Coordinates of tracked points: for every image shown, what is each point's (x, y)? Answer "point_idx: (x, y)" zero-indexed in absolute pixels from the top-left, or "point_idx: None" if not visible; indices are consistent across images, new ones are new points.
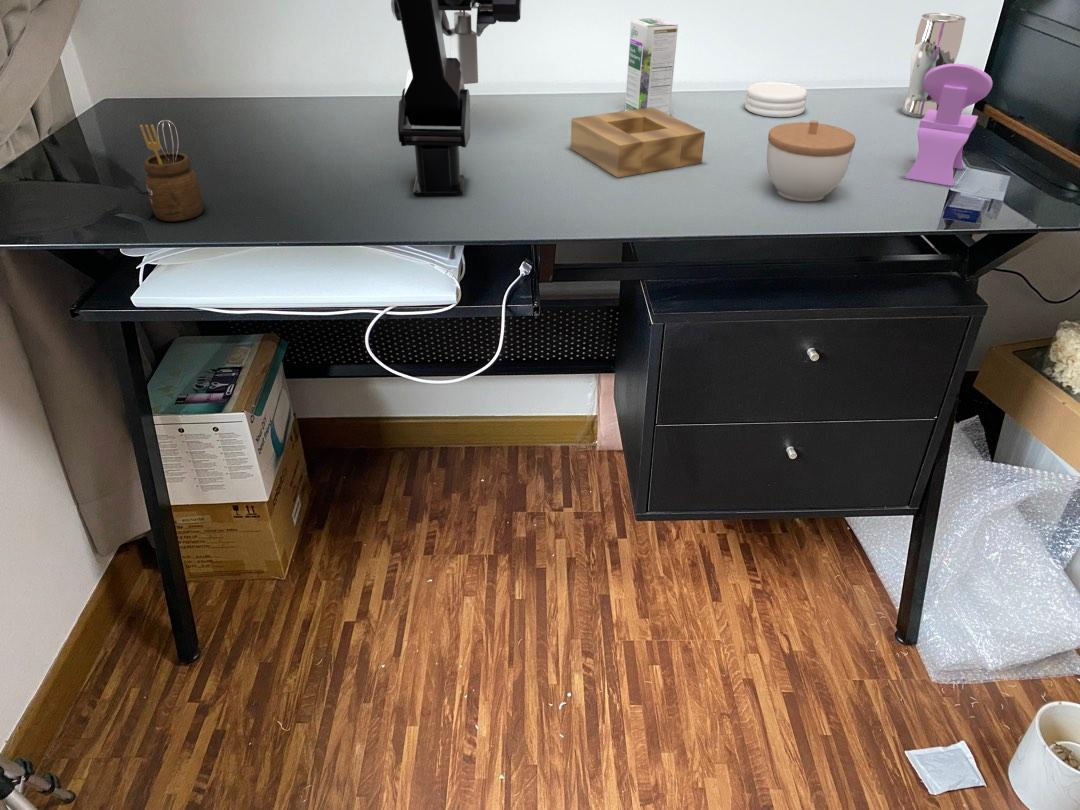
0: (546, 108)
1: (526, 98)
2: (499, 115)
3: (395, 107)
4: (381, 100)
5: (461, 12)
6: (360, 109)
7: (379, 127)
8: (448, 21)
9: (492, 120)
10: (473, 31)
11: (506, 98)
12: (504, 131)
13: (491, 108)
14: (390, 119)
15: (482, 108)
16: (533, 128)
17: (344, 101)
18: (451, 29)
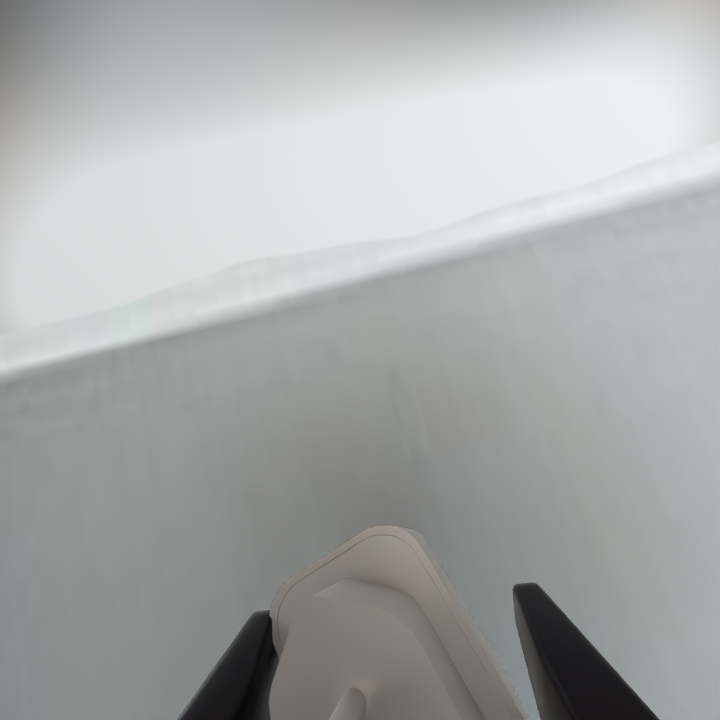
0: (647, 362)
1: (536, 270)
2: (511, 478)
3: (156, 452)
4: (108, 388)
5: (366, 712)
6: (58, 494)
7: (136, 706)
8: (242, 701)
9: (507, 546)
10: (508, 703)
11: (472, 285)
12: None
13: (458, 401)
14: (159, 594)
15: (428, 407)
16: (705, 632)
17: (8, 420)
18: (286, 632)
